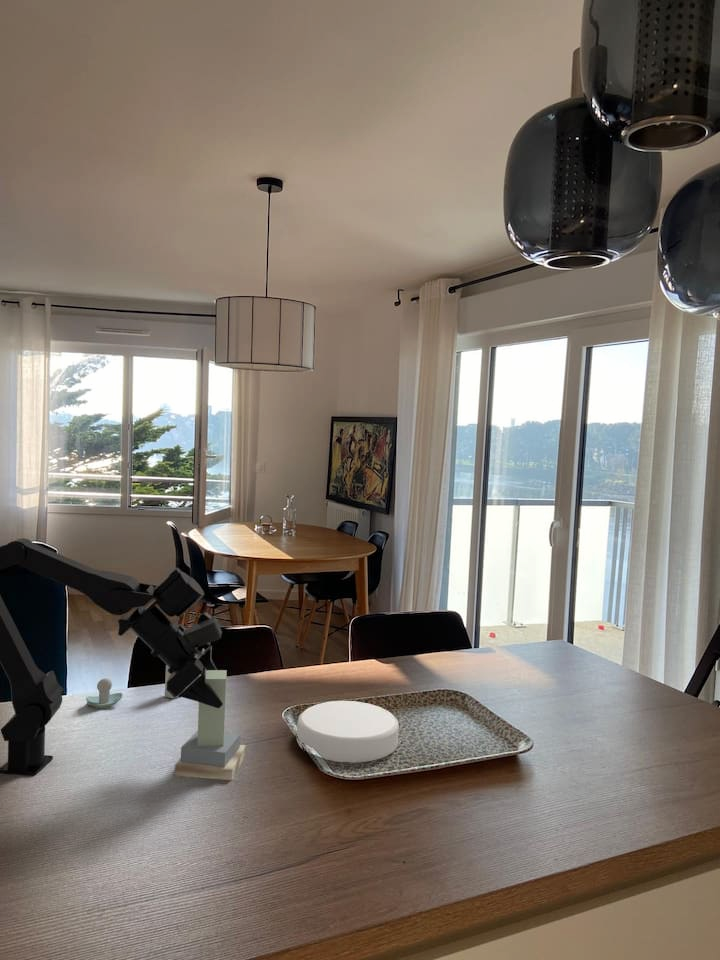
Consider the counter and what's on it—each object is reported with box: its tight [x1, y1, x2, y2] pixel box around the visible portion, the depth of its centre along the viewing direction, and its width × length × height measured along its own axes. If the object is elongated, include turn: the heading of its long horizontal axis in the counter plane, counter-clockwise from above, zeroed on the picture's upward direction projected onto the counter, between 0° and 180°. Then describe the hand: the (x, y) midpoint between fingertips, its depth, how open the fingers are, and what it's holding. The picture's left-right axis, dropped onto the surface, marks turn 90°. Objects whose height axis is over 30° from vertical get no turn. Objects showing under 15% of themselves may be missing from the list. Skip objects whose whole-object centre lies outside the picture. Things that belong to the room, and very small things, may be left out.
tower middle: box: [180, 730, 241, 767], centre depth 128 cm, size 8×8×2 cm
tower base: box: [174, 744, 247, 781], centre depth 128 cm, size 10×10×2 cm
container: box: [296, 700, 400, 763], centre depth 142 cm, size 20×20×5 cm
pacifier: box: [85, 678, 123, 709], centre depth 154 cm, size 7×6×6 cm
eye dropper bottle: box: [164, 664, 179, 699], centre depth 161 cm, size 4×6×12 cm
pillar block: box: [197, 669, 228, 746], centre depth 128 cm, size 4×4×12 cm
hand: (222, 696), depth 128 cm, fingers open, 9 cm apart
